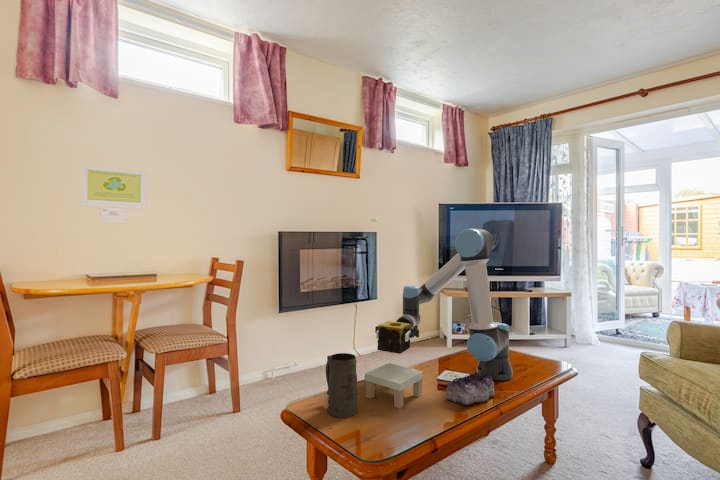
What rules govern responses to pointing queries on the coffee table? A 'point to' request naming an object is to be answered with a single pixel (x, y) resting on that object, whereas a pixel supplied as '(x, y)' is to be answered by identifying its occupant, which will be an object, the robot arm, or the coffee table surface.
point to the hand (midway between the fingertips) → (391, 336)
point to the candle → (393, 337)
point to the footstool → (394, 381)
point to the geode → (470, 389)
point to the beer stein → (341, 385)
